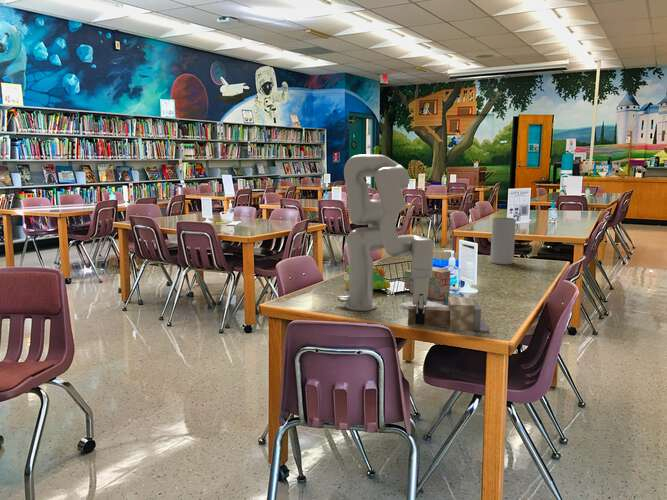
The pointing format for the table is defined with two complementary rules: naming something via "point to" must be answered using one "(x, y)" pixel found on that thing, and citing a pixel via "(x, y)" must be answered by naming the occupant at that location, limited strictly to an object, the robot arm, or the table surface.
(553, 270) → the table surface
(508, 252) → the cylinder vase
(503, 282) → the table surface
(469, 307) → the maple block
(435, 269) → the stack of blocks
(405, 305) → the calculator
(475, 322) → the grey piece
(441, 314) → the walnut bar
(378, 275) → the turtle toy
